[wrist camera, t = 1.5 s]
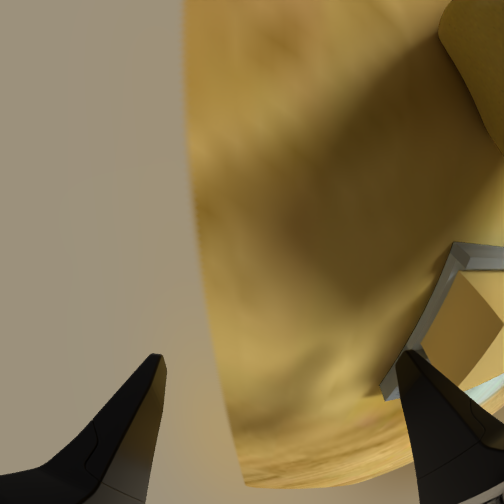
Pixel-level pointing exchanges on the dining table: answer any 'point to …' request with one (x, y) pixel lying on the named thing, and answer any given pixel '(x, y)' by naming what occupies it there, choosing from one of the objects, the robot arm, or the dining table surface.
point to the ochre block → (469, 329)
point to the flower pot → (479, 56)
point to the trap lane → (458, 259)
